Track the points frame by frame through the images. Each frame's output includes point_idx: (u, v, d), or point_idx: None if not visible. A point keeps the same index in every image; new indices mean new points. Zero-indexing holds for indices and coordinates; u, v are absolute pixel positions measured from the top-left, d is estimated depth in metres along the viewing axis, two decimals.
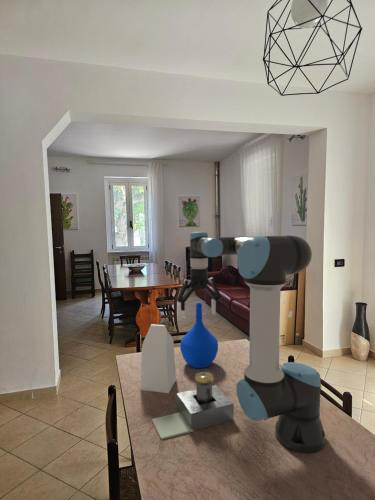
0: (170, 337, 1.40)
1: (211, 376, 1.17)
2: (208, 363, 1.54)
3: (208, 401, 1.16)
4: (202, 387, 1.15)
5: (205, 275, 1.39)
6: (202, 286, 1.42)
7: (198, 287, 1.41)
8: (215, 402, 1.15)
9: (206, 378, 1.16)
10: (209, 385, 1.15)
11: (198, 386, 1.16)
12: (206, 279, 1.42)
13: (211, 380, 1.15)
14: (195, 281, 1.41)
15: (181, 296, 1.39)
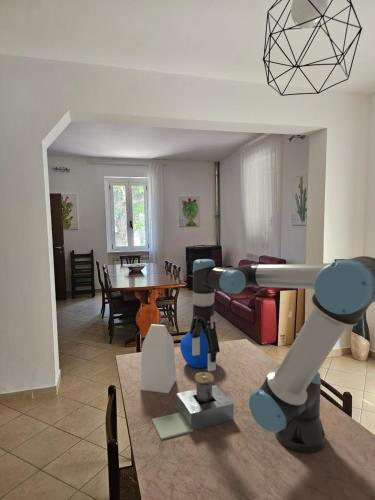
0: (170, 337, 1.40)
1: (211, 376, 1.17)
2: None
3: (208, 401, 1.16)
4: (202, 387, 1.15)
5: (196, 314, 1.13)
6: None
7: (199, 326, 1.16)
8: (215, 402, 1.15)
9: (206, 378, 1.16)
10: (209, 385, 1.15)
11: (198, 386, 1.16)
12: (204, 320, 1.12)
13: (211, 380, 1.15)
14: (198, 318, 1.17)
15: (191, 328, 1.24)
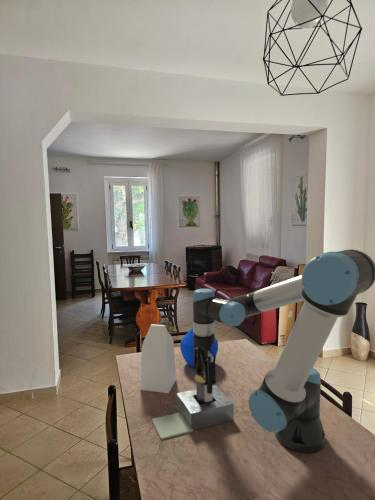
0: (170, 337, 1.40)
1: None
2: None
3: (208, 401, 1.16)
4: (202, 387, 1.15)
5: (196, 344, 1.14)
6: None
7: (200, 355, 1.17)
8: (215, 402, 1.15)
9: None
10: None
11: (198, 386, 1.16)
12: (204, 350, 1.13)
13: None
14: None
15: (194, 362, 1.22)
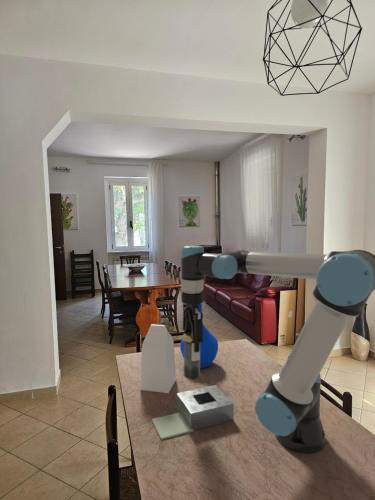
0: (170, 337, 1.40)
1: None
2: (208, 363, 1.54)
3: (195, 361, 1.12)
4: (190, 347, 1.12)
5: (184, 301, 1.10)
6: None
7: (188, 314, 1.14)
8: (215, 402, 1.15)
9: None
10: None
11: (186, 345, 1.13)
12: (192, 308, 1.10)
13: None
14: (187, 304, 1.15)
15: (183, 323, 1.19)
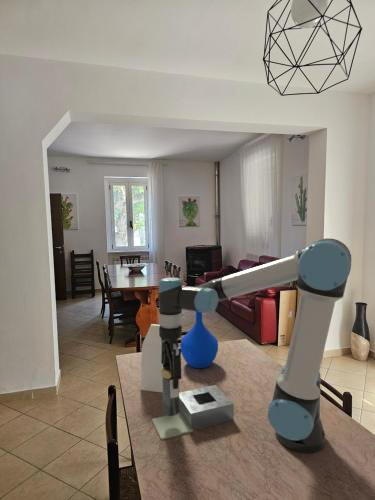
0: None
1: None
2: (208, 363, 1.54)
3: None
4: (168, 383, 1.08)
5: (162, 336, 1.06)
6: None
7: (166, 348, 1.10)
8: (215, 402, 1.15)
9: None
10: None
11: (164, 381, 1.09)
12: (170, 343, 1.06)
13: None
14: (165, 338, 1.11)
15: (161, 356, 1.15)
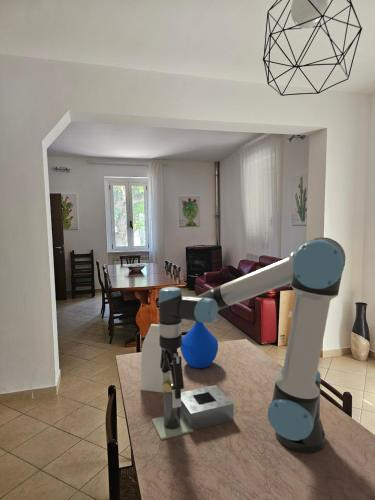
0: None
1: None
2: (208, 363, 1.54)
3: (175, 411, 1.09)
4: (169, 396, 1.08)
5: (162, 346, 1.07)
6: None
7: (167, 358, 1.10)
8: (215, 402, 1.15)
9: None
10: None
11: (165, 395, 1.09)
12: (170, 353, 1.06)
13: None
14: (165, 348, 1.11)
15: (161, 362, 1.17)
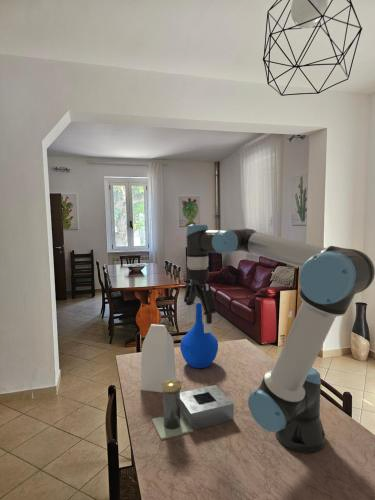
0: (170, 337, 1.40)
1: (178, 384, 1.10)
2: (208, 363, 1.54)
3: (175, 411, 1.09)
4: (169, 396, 1.08)
5: (191, 277, 1.14)
6: (196, 291, 1.16)
7: (194, 291, 1.17)
8: (215, 402, 1.15)
9: (173, 386, 1.09)
10: (176, 394, 1.09)
11: (165, 395, 1.09)
12: (199, 284, 1.14)
13: (178, 388, 1.08)
14: (192, 283, 1.18)
15: (185, 296, 1.25)
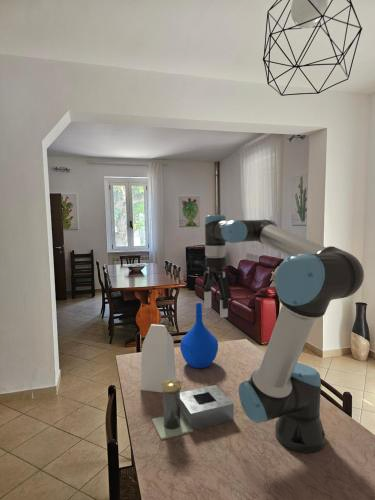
0: (170, 337, 1.40)
1: (178, 384, 1.10)
2: (208, 363, 1.54)
3: (175, 411, 1.09)
4: (169, 396, 1.08)
5: (208, 265, 1.21)
6: (214, 278, 1.22)
7: (211, 278, 1.24)
8: (215, 402, 1.15)
9: (173, 386, 1.09)
10: (176, 394, 1.09)
11: (165, 395, 1.09)
12: (216, 271, 1.20)
13: (178, 388, 1.08)
14: (210, 270, 1.25)
15: (203, 283, 1.32)
